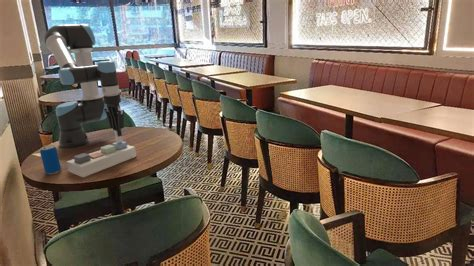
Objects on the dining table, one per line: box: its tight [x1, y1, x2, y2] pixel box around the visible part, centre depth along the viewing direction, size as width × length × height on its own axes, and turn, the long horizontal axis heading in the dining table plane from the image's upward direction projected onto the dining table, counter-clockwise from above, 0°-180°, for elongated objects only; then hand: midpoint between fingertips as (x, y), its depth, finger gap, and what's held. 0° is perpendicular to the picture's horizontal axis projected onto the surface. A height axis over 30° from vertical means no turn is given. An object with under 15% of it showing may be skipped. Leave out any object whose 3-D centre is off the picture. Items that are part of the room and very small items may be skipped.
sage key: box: [99, 144, 116, 155], centre depth 158 cm, size 5×5×3 cm
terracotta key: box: [90, 152, 104, 159], centre depth 153 cm, size 5×5×3 cm
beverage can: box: [39, 144, 62, 175], centre depth 148 cm, size 6×6×12 cm
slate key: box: [111, 140, 128, 150], centre depth 163 cm, size 5×5×3 cm
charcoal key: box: [73, 152, 91, 164], centre depth 148 cm, size 5×5×3 cm
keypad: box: [66, 144, 137, 178], centre depth 156 cm, size 12×28×5 cm, turn 143°
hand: (119, 142), depth 162 cm, fingers closed
